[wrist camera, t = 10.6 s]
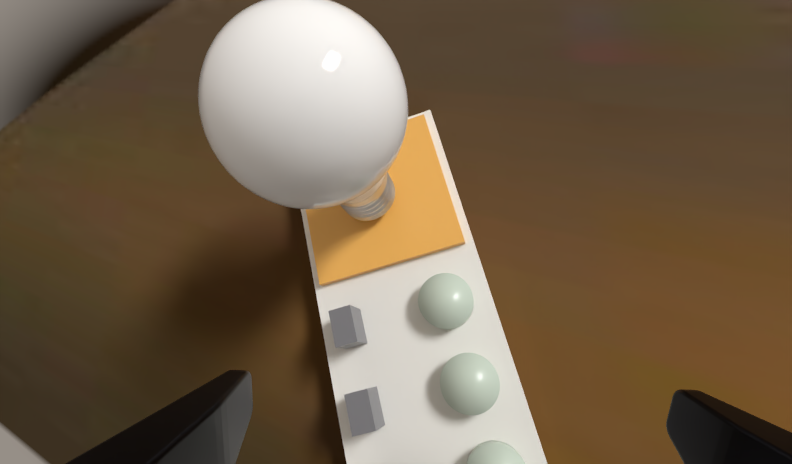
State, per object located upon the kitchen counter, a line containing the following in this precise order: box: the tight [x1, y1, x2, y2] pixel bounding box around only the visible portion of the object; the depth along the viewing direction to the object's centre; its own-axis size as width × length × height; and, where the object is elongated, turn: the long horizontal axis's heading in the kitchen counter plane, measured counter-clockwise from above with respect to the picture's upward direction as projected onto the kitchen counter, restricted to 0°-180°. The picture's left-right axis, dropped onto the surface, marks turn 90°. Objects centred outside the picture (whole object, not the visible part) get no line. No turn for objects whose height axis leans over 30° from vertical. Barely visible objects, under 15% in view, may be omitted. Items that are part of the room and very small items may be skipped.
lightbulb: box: [198, 0, 408, 221], centre depth 15 cm, size 6×6×11 cm
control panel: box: [301, 110, 547, 464], centre depth 19 cm, size 20×8×3 cm, turn 15°
